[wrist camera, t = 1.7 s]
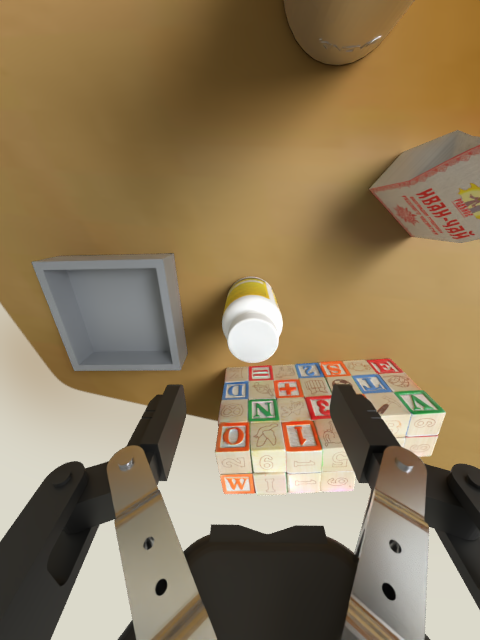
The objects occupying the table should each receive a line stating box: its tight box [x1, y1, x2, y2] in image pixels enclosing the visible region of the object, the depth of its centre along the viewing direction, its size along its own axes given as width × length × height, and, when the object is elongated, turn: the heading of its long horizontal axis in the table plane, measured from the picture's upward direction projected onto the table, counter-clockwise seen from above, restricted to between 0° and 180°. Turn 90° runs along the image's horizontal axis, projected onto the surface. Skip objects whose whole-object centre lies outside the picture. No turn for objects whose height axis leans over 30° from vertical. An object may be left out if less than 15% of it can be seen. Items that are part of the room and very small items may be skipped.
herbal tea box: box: [369, 130, 480, 243], centre depth 18 cm, size 4×7×10 cm, turn 51°
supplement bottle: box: [222, 277, 283, 363], centre depth 22 cm, size 5×5×10 cm
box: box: [32, 253, 188, 371], centre depth 26 cm, size 13×13×4 cm
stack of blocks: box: [215, 359, 446, 495], centre depth 26 cm, size 21×6×12 cm, turn 96°
